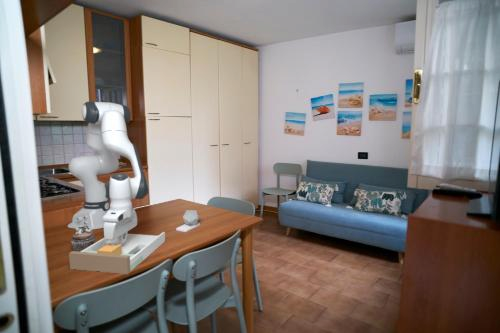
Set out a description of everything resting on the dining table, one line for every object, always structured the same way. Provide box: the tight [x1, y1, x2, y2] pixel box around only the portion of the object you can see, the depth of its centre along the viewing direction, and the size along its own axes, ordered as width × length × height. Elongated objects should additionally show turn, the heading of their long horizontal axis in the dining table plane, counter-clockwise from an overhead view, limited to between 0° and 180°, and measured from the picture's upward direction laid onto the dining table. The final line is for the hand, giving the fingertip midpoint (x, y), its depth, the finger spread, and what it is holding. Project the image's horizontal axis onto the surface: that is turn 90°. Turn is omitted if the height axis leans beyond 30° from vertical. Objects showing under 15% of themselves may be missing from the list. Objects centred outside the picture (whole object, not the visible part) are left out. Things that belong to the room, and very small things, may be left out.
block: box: [97, 244, 122, 255], centre depth 128 cm, size 6×8×4 cm
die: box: [182, 209, 200, 226], centre depth 177 cm, size 8×9×10 cm
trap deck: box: [68, 231, 166, 275], centre depth 137 cm, size 24×34×6 cm
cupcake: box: [70, 226, 96, 252], centre depth 142 cm, size 10×10×10 cm
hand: (122, 242), depth 138 cm, fingers closed
